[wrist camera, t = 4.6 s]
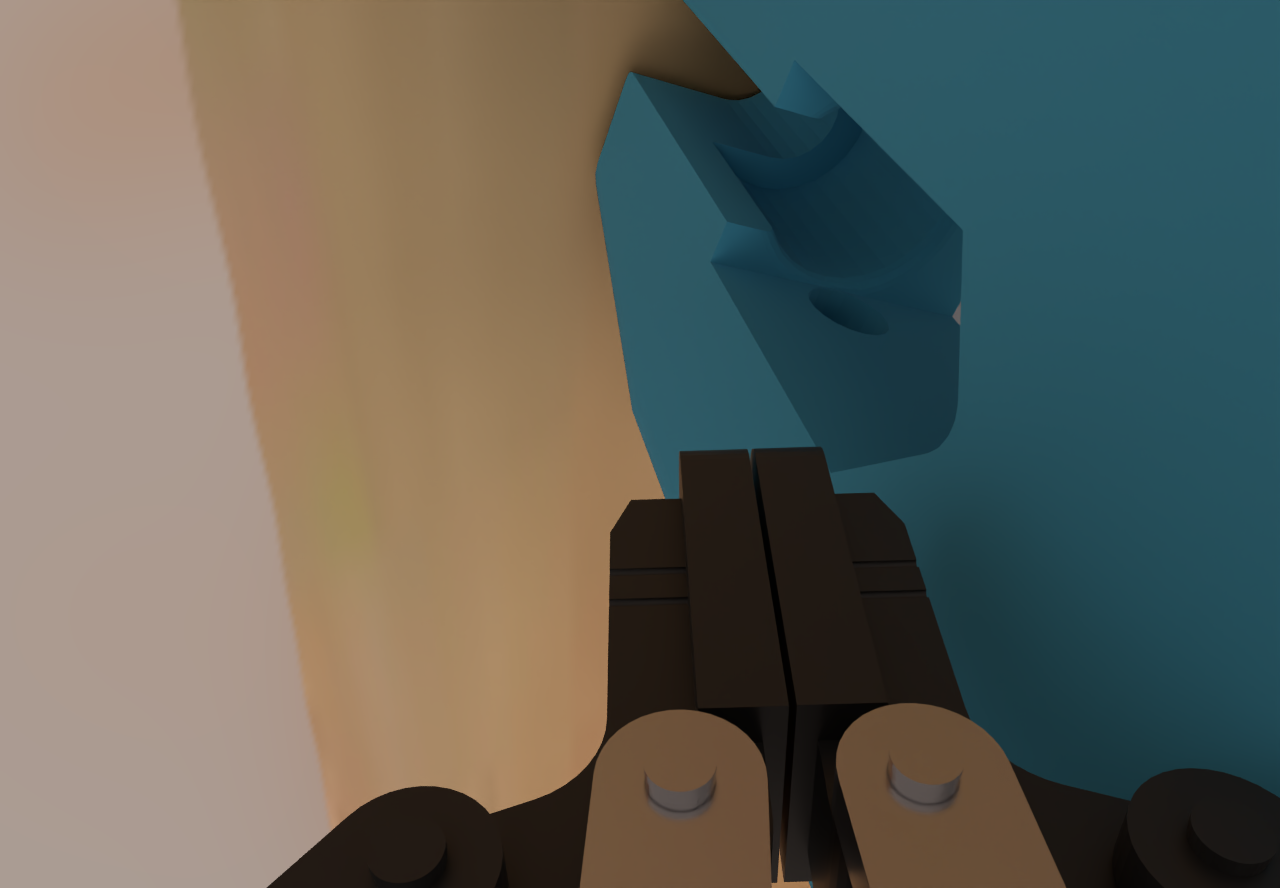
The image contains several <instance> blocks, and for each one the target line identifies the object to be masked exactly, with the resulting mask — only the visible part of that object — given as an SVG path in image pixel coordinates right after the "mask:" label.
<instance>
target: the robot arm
mask: <svg viewBox="0 0 1280 888" xmlns="http://www.w3.org/2000/svg"><path fill="white" fill-rule="evenodd" d="M779 848H780V855H781V863H782V871H783V878H784V882H800V881H812V884H813V888H1280V798H1279V797H1278V796H1276V795H1275V794H1273V793H1271V792H1269V791H1268V790H1266V789H1264V788H1262V787H1261V786H1259V785H1257V784H1254V783H1252V782H1250V781H1248V780H1245V779H1243V778H1241V777H1237V776H1234V775H1231V774H1228V773H1225V772H1220V771H1215V770H1209V769H1198V768H1185V769H1175V770H1170V771H1166V772H1162V773H1160V774H1158V775H1156V776H1153V777H1151V778H1150V779H1148V780H1147V781H1146V782H1144V783H1143V784H1142V785H1141V786H1140V787H1139V788H1138V789H1137V790H1136V792H1135V793H1134V794H1133V797H1132V799H1131V801H1129V800H1125V799H1121V798H1117V797H1113V796H1109V795H1105V794H1100V793H1096V792H1092V791H1088V790H1084V789H1080V788H1076V787H1071V786H1067V785H1063V784H1060V783H1057V782H1053V781H1050V780H1047V779H1044V778H1042V777H1039V776H1037V775H1035V774H1032V773H1030V772H1028V771H1026V770H1024V769H1022V768H1021V767H1019V766H1017V765H1015V764H1014V763H1012V762H1011V761H1009V760H1008V758H1007V756H1006V755H1005V753H1004V751H1003V749H1002V748H1001V747H1000V746H999V744H998V743H997V742H996V741H995V740H994V738H992V737H991V736H990V735H989V734H988V733H987V732H986V731H985V730H984V729H983V728H981V727H980V726H978V725H977V724H975V723H974V722H973V721H971V719H970V717H969V715H968V713H967V710H966V708H965V705H964V702H963V699H962V696H961V693H960V690H959V687H958V684H957V681H956V678H955V675H954V671H953V668H952V665H951V662H950V659H949V656H948V653H947V650H946V647H945V644H944V641H943V638H942V635H941V632H940V629H939V626H938V623H937V620H936V617H935V614H934V611H933V608H932V605H931V602H930V599H929V597H927V595H926V587H925V584H924V581H923V578H922V575H921V572H920V569H919V567H917V564H916V556H915V553H914V550H913V547H912V544H911V541H910V538H909V535H908V532H907V529H906V526H905V523H904V522H903V521H902V520H901V519H900V518H899V517H898V516H897V515H896V514H895V513H894V512H893V511H892V510H891V509H890V508H889V507H888V506H887V505H886V504H885V503H884V502H883V501H882V500H881V499H880V498H879V497H878V496H877V495H876V494H875V493H842V494H835V493H834V489H833V485H832V481H831V477H830V473H829V469H828V465H827V462H826V458H825V454H824V451H823V449H822V447H789V448H755V449H752V450H751V456H750V457H749V452H748V450H747V449H731V450H698V451H679V499H649V500H631V501H630V502H629V504H628V506H627V507H626V509H625V510H624V512H623V513H622V515H621V517H620V518H619V520H618V521H617V523H616V524H615V526H614V528H613V529H612V531H611V532H610V585H609V642H608V698H607V724H606V732H605V735H604V738H603V741H602V744H601V746H600V748H599V749H598V751H597V753H596V755H595V756H594V758H593V759H592V760H591V762H590V763H589V764H588V766H587V767H586V768H585V769H584V770H583V771H582V772H581V773H580V774H579V775H578V776H577V777H575V778H574V779H572V780H571V781H570V782H568V783H567V784H566V785H564V786H563V787H561V788H559V789H557V790H555V791H554V792H552V793H550V794H547V795H545V796H542V797H540V798H537V799H535V800H532V801H529V802H526V803H523V804H519V805H516V806H513V807H510V808H507V809H504V810H501V811H498V812H495V813H491V814H489V813H488V811H487V810H486V809H485V808H484V807H483V806H482V805H480V804H479V803H478V802H477V801H476V800H474V799H472V798H471V797H469V796H467V795H465V794H463V793H460V792H458V791H455V790H452V789H448V788H442V787H436V786H419V787H411V788H404V789H400V790H396V791H393V792H389V793H387V794H384V795H382V796H380V797H377V798H375V799H373V800H371V801H370V802H368V803H366V804H364V805H363V806H361V807H360V808H358V809H357V810H356V811H354V812H353V813H352V814H350V815H349V816H348V817H347V818H346V819H344V820H343V821H342V822H341V823H340V824H339V825H338V826H336V827H335V828H334V829H333V830H332V831H331V832H330V833H328V834H327V835H326V836H325V837H324V838H323V839H322V840H321V841H320V842H318V843H317V844H316V845H315V846H314V847H313V848H311V850H309V851H308V852H307V853H306V854H305V855H303V856H302V857H301V858H300V859H299V860H298V861H297V862H296V863H294V864H293V865H292V866H291V867H290V868H289V869H287V870H286V871H285V872H284V873H283V874H282V875H281V876H280V877H278V878H277V879H276V880H275V881H274V882H273V883H271V884H270V885H269V886H268V887H267V888H772V884H771V883H777V876H778V861H779Z"/></svg>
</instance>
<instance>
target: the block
mask: <svg viewBox="0 0 1280 888" xmlns="http://www.w3.org/2000/svg"><path fill="white" fill-rule="evenodd" d="M683 1H684V2H685V3H686V4H687V6H688V7H689V8H690V9H691V10H692V11H693V13H694V14H695V15H696V16H697V17H698V18H699V19H700V21H701V22H702V23H703V24H704V25H705V26H706V28H707V29H708V30H709V31H710V32H711V33H712V35H713V36H714V37H715V38H716V39H717V40H718V41H719V43H720V44H721V45H722V46H723V47H724V48H725V50H726V51H727V52H728V53H729V54H730V55H731V56H732V58H733V59H734V60H735V61H736V62H737V63H738V65H739V66H740V67H741V68H742V69H743V70H744V72H745V73H746V74H747V75H748V76H749V77H750V78H751V80H752V81H753V82H754V83H755V84H756V85H757V87H758V88H759V89H760V90H761V91H762V92H760V93H758V94H756V95H754V96H752V97H750V98H746V99H742V100H727V99H723V98H719V97H716V96H712V95H709V94H705V93H702V92H699V91H695V90H692V89H688V88H685V87H681V86H678V85H674V84H671V83H667V82H664V81H661V80H657V79H654V78H650V77H647V76H643V75H640V74H636V73H633V72H630V73H629V74H628V76H627V78H626V81H625V84H624V87H623V90H622V93H621V96H620V99H619V102H618V105H617V108H616V110H615V113H614V116H613V119H612V122H611V125H610V128H609V131H608V134H607V137H606V140H605V143H604V146H603V149H602V152H601V155H600V158H599V161H598V164H597V169H596V174H595V175H596V187H597V194H598V200H599V206H600V212H601V218H602V225H603V231H604V237H605V243H606V249H607V256H608V262H609V268H610V274H611V281H612V287H613V293H614V299H615V305H616V312H617V318H618V324H619V330H620V337H621V343H622V349H623V355H624V361H625V368H626V374H627V380H628V386H629V392H630V399H631V405H632V411H633V414H634V416H635V419H636V422H637V424H638V427H639V430H640V432H641V435H642V438H643V440H644V443H645V446H646V448H647V451H648V454H649V456H650V459H651V462H652V464H653V467H654V470H655V472H656V475H657V478H658V480H659V483H660V486H661V488H662V491H663V494H664V496H665V499H679V451H698V450H731V449H747V450H748V452H749V457H750V456H751V450H752V449H755V448H789V447H822V449H823V451H824V454H825V458H826V462H827V465H828V469H829V473H830V477H831V481H832V485H833V489H834V493H835V494H842V493H875V494H876V495H877V496H878V497H879V498H880V499H881V500H882V501H883V502H884V503H885V504H886V505H887V506H888V507H889V508H890V509H891V510H892V511H893V512H894V513H895V514H896V515H897V516H898V517H899V518H900V519H901V520H902V521H903V522H904V523H905V526H906V529H907V532H908V535H909V538H910V541H911V544H912V547H913V550H914V553H915V556H916V564H917V567H919V569H920V572H921V575H922V578H923V581H924V584H925V587H926V595H927V597H929V599H930V602H931V605H932V608H933V611H934V614H935V617H936V620H937V623H938V626H939V629H940V632H941V635H942V638H943V641H944V644H945V647H946V650H947V653H948V656H949V659H950V662H951V665H952V668H953V671H954V675H955V678H956V681H957V684H958V687H959V690H960V693H961V696H962V699H963V702H964V705H965V708H966V710H967V713H968V715H969V717H970V719H971V721H973V722H974V723H975V724H977V725H978V726H980V727H981V728H983V729H984V730H985V731H986V732H987V733H988V734H989V735H990V736H991V737H992V738H994V740H995V741H996V742H997V743H998V744H999V746H1000V747H1001V748H1002V749H1003V751H1004V753H1005V755H1006V756H1007V758H1008V760H1009V761H1011V762H1012V763H1014V764H1015V765H1017V766H1019V767H1021V768H1022V769H1024V770H1026V771H1028V772H1030V773H1032V774H1035V775H1037V776H1039V777H1042V778H1044V779H1047V780H1050V781H1053V782H1057V783H1060V784H1063V785H1067V786H1071V787H1076V788H1080V789H1084V790H1088V791H1092V792H1096V793H1100V794H1105V795H1109V796H1113V797H1117V798H1121V799H1125V800H1129V801H1131V799H1132V797H1133V794H1134V793H1135V792H1136V790H1137V789H1138V788H1139V787H1140V786H1141V785H1142V784H1143V783H1144V782H1146V781H1147V780H1148V779H1150V778H1151V777H1153V776H1156V775H1158V774H1160V773H1162V772H1166V771H1170V770H1175V769H1185V768H1198V769H1209V770H1215V771H1220V772H1225V773H1228V774H1231V775H1234V776H1237V777H1241V778H1243V779H1245V780H1248V781H1250V782H1252V783H1254V784H1257V785H1259V786H1261V787H1262V788H1264V789H1266V790H1268V791H1269V792H1271V793H1273V794H1275V795H1276V796H1278V797H1279V798H1280V0H683ZM960 302H961V316H960V325H959V324H958V323H957V322H956V320H955V319H954V318H953V317H952V316H953V315H954V313H955V311H956V309H957V307H958V306H959V304H960ZM809 884H810V886H811V888H813V884H812V881H809Z"/></svg>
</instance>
